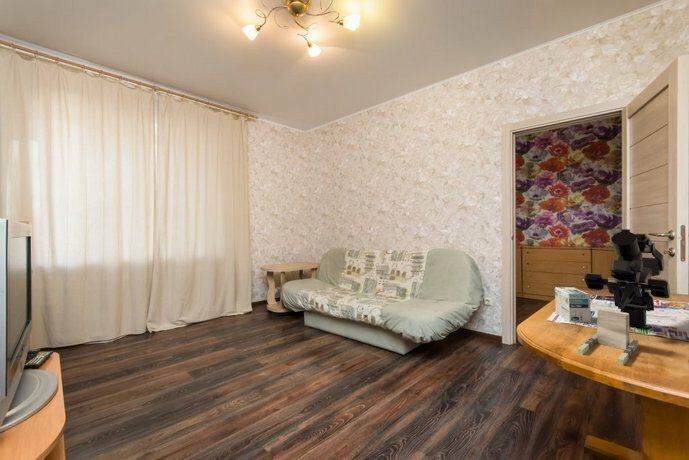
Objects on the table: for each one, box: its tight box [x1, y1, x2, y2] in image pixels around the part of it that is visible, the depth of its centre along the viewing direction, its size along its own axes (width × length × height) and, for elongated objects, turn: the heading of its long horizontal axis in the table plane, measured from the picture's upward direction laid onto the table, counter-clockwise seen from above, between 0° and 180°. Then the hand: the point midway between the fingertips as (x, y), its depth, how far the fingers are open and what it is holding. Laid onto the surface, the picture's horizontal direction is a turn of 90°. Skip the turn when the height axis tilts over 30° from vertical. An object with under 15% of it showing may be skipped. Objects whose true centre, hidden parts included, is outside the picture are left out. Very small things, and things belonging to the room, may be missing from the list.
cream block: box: [596, 308, 630, 351], centre depth 86 cm, size 4×6×9 cm, turn 37°
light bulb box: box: [554, 286, 592, 323], centre depth 109 cm, size 11×7×11 cm, turn 168°
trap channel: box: [577, 331, 639, 366], centre depth 83 cm, size 17×9×2 cm, turn 127°
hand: (619, 308), depth 90 cm, fingers closed
